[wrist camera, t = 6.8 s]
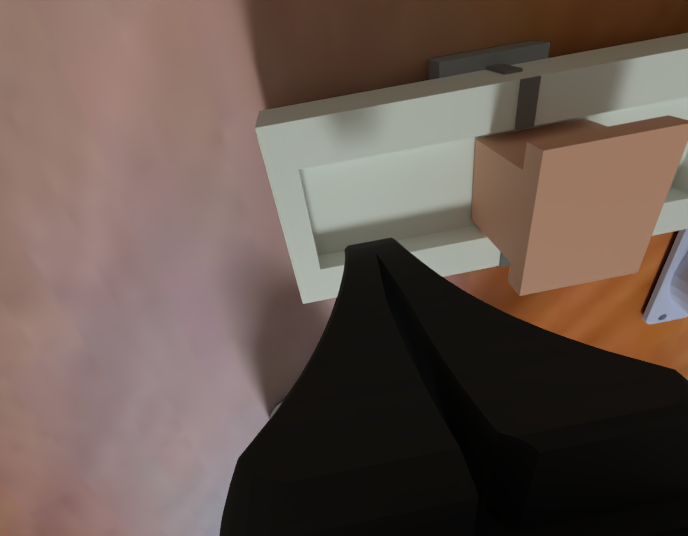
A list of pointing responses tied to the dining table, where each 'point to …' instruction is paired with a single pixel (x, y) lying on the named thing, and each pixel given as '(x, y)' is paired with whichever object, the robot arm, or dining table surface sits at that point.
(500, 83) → the beam
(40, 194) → the dining table surface
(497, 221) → the rider
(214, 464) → the dining table surface
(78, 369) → the dining table surface
